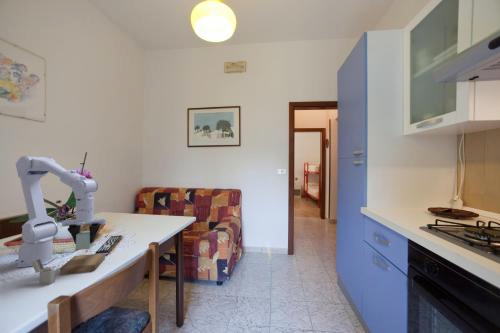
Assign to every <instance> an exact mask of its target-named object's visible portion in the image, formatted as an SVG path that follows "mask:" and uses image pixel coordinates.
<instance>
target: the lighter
mask: <svg viewBox="0 0 500 333" xmlns="http://www.w3.org/2000/svg"><path fill="white" fill-rule="evenodd" d="M31 263H32V265H33V266H32V268H33V269H34V272H35V273H36V274H37V273H39V285H52V284H54V283H55V282H56V269H55V268H53V269H52V267H51V266H46V267H44V265H43V264H42V262H41V260H40V259H37V260H34V261H32V262H31Z"/></svg>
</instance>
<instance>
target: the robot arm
mask: <svg viewBox="0 0 500 333" xmlns="http://www.w3.org/2000/svg"><path fill="white" fill-rule="evenodd" d="M15 167H16V171H17V176H18V178H19V179H20V183H21V188H22V193H23V198H24V202H25V205H26V211H27V214H28V220H27V221H26V222H25V223H24V224H22V225H21V229H22V230H21V240H22V241H23V242H22V243H21V244H20V246H19V248H18V253H17V254H18V258H17V259H18V260H17V261H18V264H17V265H16V268H25V267H33V265H32V263H31V262H32V261H34V260H37V259H40V260H41V262H42V264H43V266H44V265H48V264H49V263H51V262H52V261H53V260H55V259H56V258H57V257H58V255H53V241H54V240H53V239H54V238H55V236H57V235H58V232H59V226H58V224H57V223H56V221H55V218H54V217H52V216H49V215H48V214H47V209H46V208H47V207H46V204H45V201H44V200H45V198H44V196H43V191H42V188H41V187H42V186H41V182H40V180H41V178H43V177H45V176H46V175H48V174H49V173H50V174H53V175H54V176H57V177H58V178H59V180H60V182H61V183H62V184H65V185H67V186H68V187H69V188H71V190H72V193H73V194H74V198H75V219H71V220H68V219H67V220H63V221H61V228H63V227H67V232H69V234H70V235H71V237H72V239H73V242H74V245H76V234H78V233H80V232H81V227H82V226H88V225H89V227H88V231H90V243H93V242H94V243H95V239H96V235H97V233H98V231H99V229H100V227H101V225H106V224H107V218H97V217H96V218H95V192H97V191H98V189H99V183H98V181H97V180H95V179H94V178H87V177H86V176H85V175H81V174H80V173H78V171H77V170H75V169H72V170H71V169H69V170H67V169H66V168H64V167H63V166H61V165H60V164H58V163H57V162H56V159H54V158H52V157H50V156H26V155H23V156H21V157H19V158H18V160H17V161H16V163H15Z"/></svg>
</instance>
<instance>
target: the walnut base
mask: <svg viewBox="0 0 500 333" xmlns="http://www.w3.org/2000/svg"><path fill="white" fill-rule="evenodd" d="M104 261H106V252H103V253H92V254H91V253H90V254H81V255H74V256H72V258H71V259H69V260H68V261H67V262H66V263H64V264H63V265H62V266H60V268H59V276H64V275H65V276H66V275H71V274H72V275H73V274H82V273H83V274H84V273H91V272H96V270H97V269H98V268H99V267H100V266H101V264H103V263H104Z"/></svg>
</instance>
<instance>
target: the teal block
mask: <svg viewBox="0 0 500 333" xmlns="http://www.w3.org/2000/svg"><path fill="white" fill-rule="evenodd" d="M93 246H95V241H94V242H93V243H90V230H85V231H83V230H82V231H80V233H78V234H76V244H75V251H79V250H81V251H82V250H89V249H91V248H92V247H93Z"/></svg>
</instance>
